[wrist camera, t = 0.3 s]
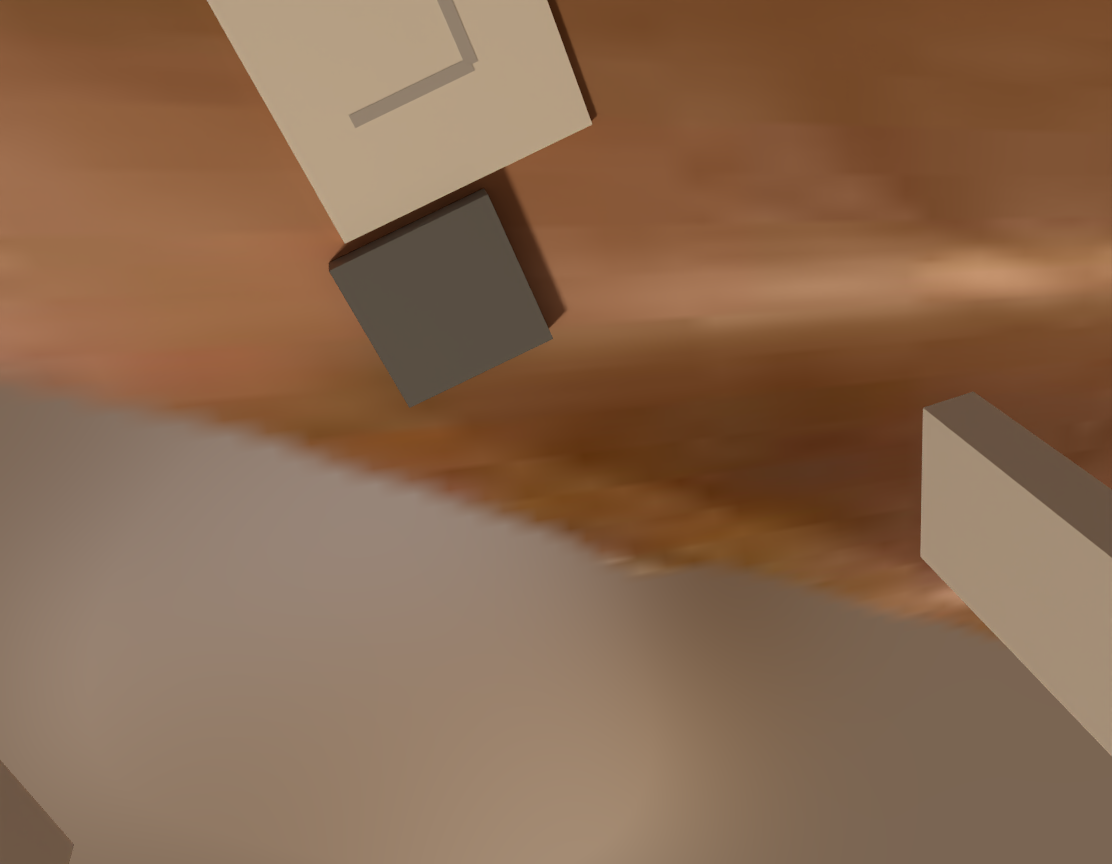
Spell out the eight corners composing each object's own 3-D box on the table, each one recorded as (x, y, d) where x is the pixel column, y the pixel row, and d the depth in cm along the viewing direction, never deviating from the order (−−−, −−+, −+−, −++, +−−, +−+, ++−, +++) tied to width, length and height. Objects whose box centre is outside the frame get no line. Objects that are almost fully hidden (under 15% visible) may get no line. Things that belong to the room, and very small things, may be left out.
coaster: (328, 263, 36) (329, 271, 35) (483, 188, 36) (487, 194, 35) (407, 397, 39) (409, 407, 39) (547, 329, 39) (553, 338, 39)
